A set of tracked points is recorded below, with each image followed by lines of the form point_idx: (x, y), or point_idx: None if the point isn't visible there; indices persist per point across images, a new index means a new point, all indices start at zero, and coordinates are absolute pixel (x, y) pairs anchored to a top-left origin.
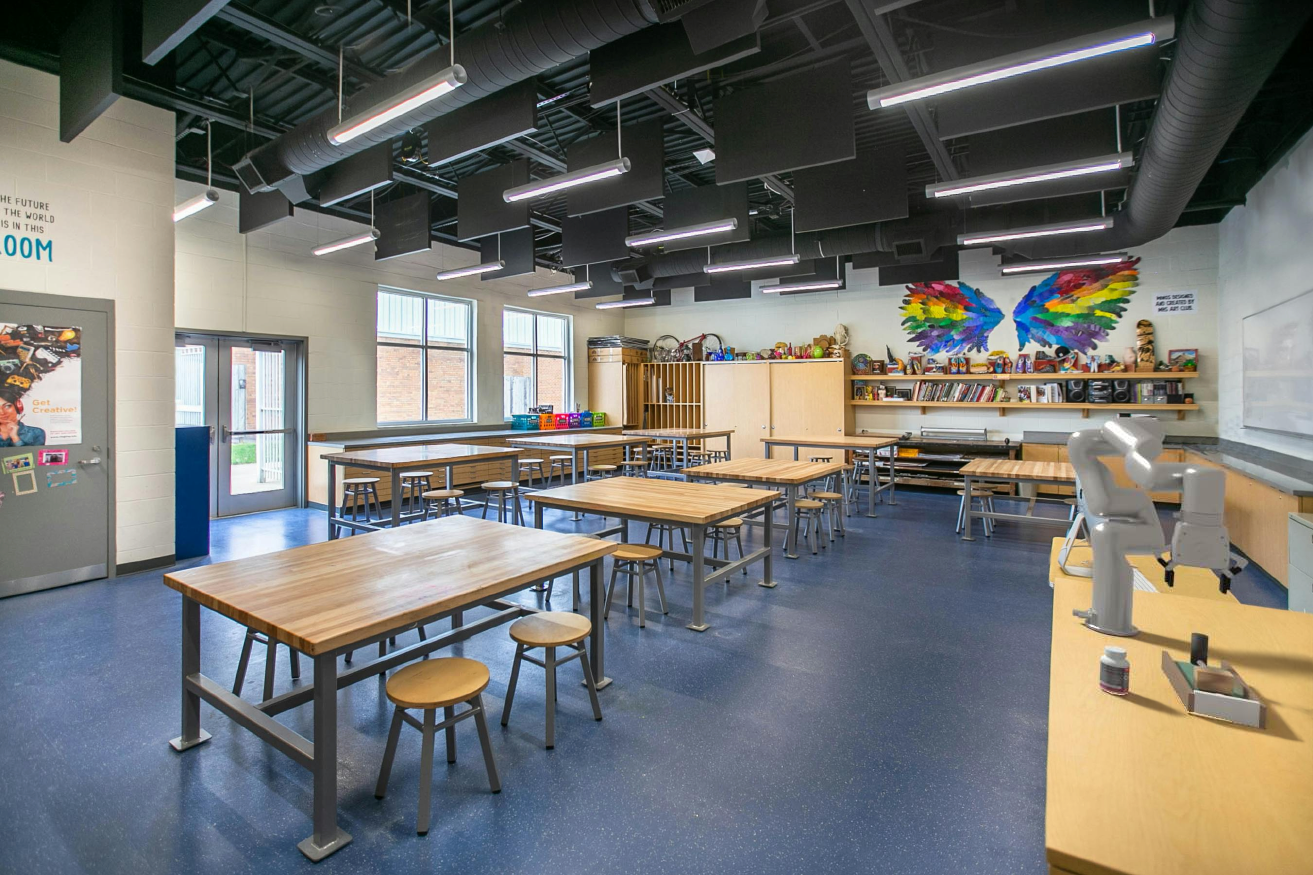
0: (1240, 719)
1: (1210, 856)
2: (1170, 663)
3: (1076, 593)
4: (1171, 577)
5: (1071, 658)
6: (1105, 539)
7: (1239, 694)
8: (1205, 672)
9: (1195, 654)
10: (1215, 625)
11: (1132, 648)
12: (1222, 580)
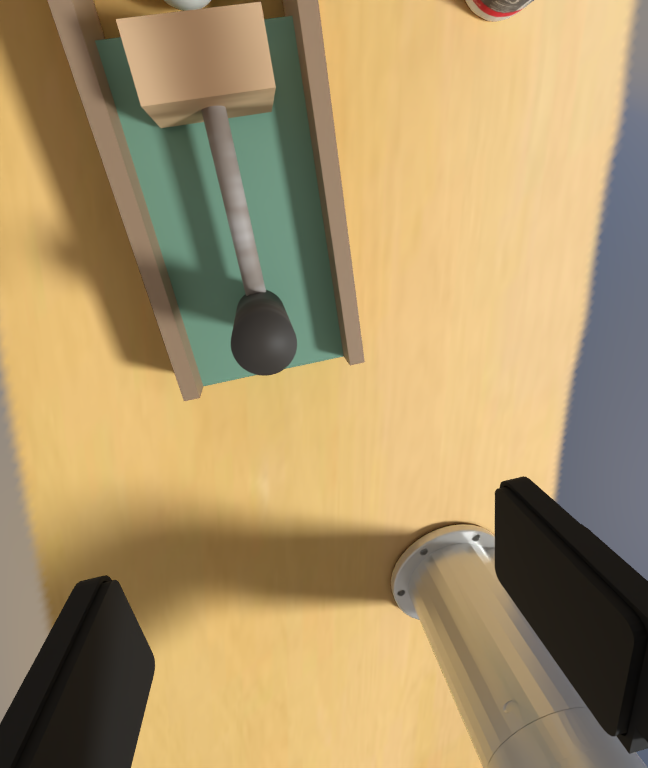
0: None
1: None
2: (345, 221)
3: None
4: (593, 545)
5: (574, 241)
6: None
7: (128, 115)
8: (230, 8)
9: (273, 299)
10: (237, 743)
11: (409, 458)
12: (69, 760)
